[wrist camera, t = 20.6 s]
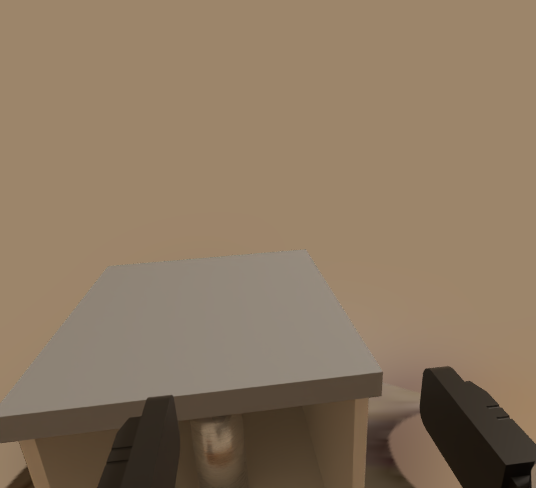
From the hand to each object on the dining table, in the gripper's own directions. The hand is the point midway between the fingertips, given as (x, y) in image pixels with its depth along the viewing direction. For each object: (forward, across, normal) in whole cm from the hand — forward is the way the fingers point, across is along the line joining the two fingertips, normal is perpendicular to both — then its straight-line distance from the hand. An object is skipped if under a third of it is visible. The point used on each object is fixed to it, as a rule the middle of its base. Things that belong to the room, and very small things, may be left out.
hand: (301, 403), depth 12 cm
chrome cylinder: (+21, +5, +30) cm, 38 cm away
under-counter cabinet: (+23, +5, +32) cm, 40 cm away
